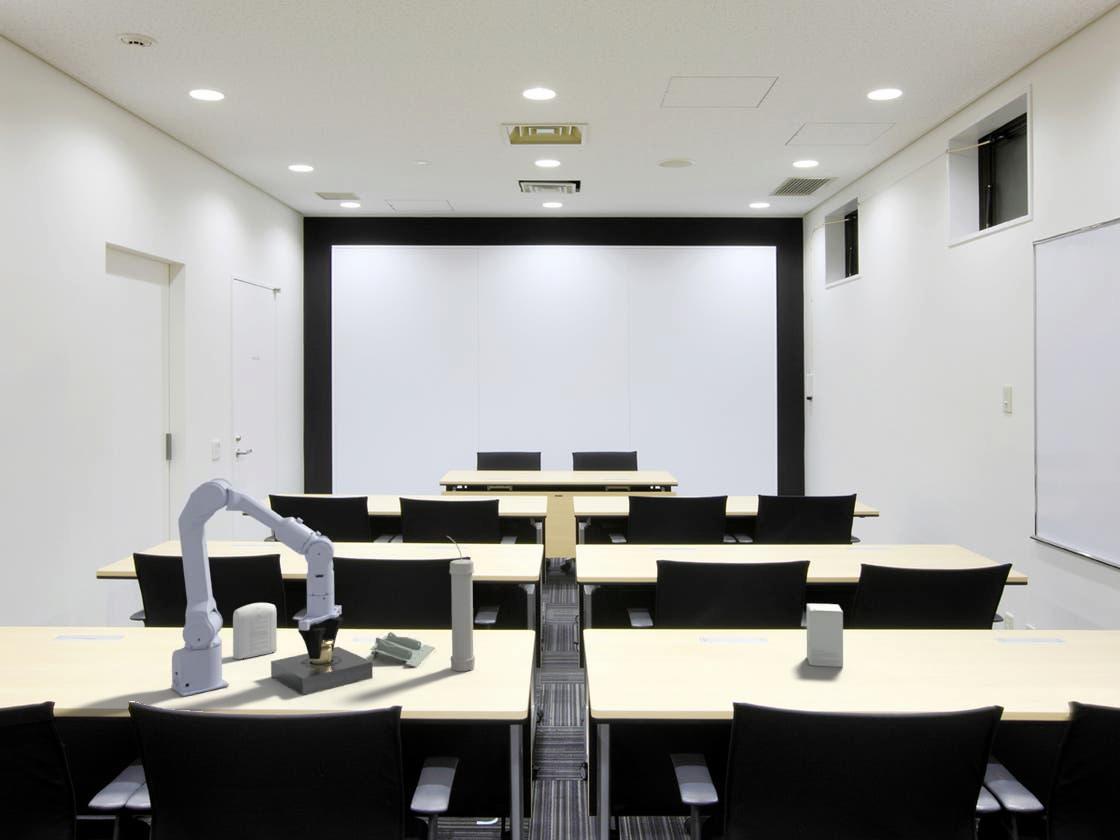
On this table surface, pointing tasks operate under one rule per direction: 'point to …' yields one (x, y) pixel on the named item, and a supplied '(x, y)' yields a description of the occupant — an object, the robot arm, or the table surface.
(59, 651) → the table surface
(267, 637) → the white rounded block
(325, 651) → the round door knob
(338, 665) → the grey flat block
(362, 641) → the table surface
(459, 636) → the pipe
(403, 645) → the metal bracket
